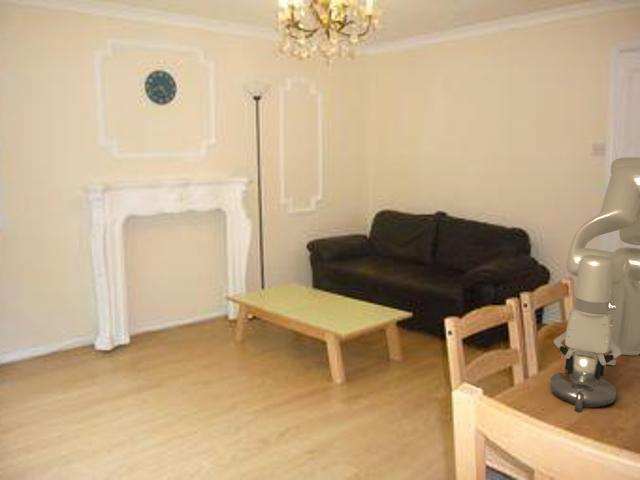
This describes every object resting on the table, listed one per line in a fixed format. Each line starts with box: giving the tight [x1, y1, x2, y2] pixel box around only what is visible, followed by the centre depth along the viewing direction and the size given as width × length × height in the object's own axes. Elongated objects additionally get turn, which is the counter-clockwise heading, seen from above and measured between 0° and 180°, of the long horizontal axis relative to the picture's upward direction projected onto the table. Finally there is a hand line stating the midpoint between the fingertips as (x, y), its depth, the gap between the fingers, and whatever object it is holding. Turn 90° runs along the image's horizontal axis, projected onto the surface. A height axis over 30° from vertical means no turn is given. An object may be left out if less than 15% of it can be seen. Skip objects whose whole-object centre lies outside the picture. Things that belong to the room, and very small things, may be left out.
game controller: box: [599, 359, 617, 375], centre depth 166 cm, size 6×12×3 cm, turn 172°
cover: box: [570, 350, 599, 383], centre depth 146 cm, size 6×6×6 cm
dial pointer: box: [574, 390, 584, 413], centre depth 140 cm, size 3×2×4 cm, turn 152°
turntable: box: [549, 354, 617, 406], centre depth 146 cm, size 15×15×7 cm
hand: (583, 374), depth 146 cm, fingers closed on cover, 6 cm apart
